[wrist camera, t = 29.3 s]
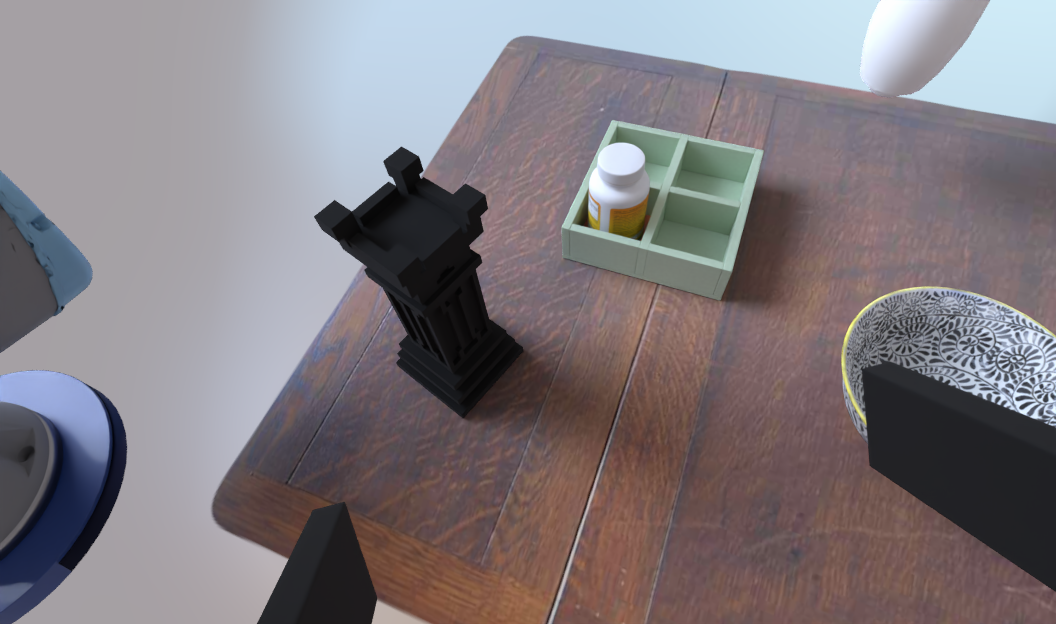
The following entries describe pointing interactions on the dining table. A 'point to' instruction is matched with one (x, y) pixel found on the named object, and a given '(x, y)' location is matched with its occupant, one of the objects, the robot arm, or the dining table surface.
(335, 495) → the dining table surface
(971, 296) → the bowl
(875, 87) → the cup
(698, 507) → the dining table surface
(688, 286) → the grid
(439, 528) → the dining table surface
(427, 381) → the chess piece
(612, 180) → the supplement bottle
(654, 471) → the dining table surface
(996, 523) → the robot arm
